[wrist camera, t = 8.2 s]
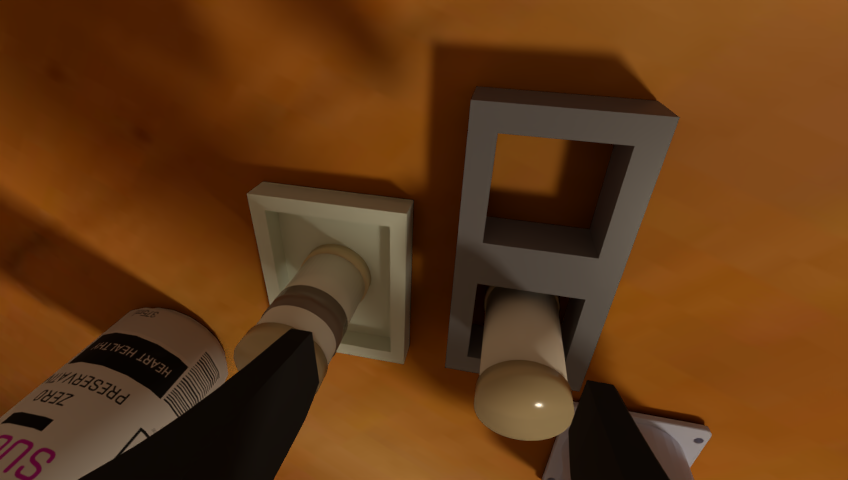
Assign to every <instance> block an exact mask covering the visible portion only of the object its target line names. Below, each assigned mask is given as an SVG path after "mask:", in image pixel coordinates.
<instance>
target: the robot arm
mask: <svg viewBox="0 0 848 480" xmlns="http://www.w3.org/2000/svg"><path fill="white" fill-rule="evenodd" d="M318 385H319V376H318V369H317V362H316V355H315V348H314V341H313V334H312V332H310V331H304V330H298V329H293V328H291V329H290V330H288V331H287V332H286V333H285V334H283V335H282V336H281V337H280V338H279V339H277V340H276V341H275V342H274V343H273V344H271V345H270V346H269V347H268V348H267V349H265V350H264V351H263V352H262V353H261V354H259V355H258V356H257V357H256V358H255V359H253V360H252V361H251V362H250V363H249V364H247V365H246V366H245V367H244V368H242V369H241V370H240V371H239V372H237V373H236V374H235V375H234V376H232V377H231V378H230V379H229V380H227V381H226V382H225V383H224V384H222V385H221V386H220V387H218V388H217V389H216V390H215V391H213V392H212V393H211V394H209V395H208V396H206V397H205V398H204V399H202V400H201V401H200V402H198V403H197V404H196V405H194V406H193V407H192V408H190V409H189V410H187V411H186V412H185V413H183V414H182V415H181V416H179V417H178V418H176V419H175V420H173V421H172V422H170V423H169V424H168V425H166V426H165V427H163V428H162V429H160V430H159V431H157V432H156V433H154V434H153V435H151V436H149V437H148V438H146V439H145V440H143V441H142V442H140V443H139V444H137V445H135V446H134V447H132V448H131V449H129V450H127V451H126V452H124V453H122V454H121V455H119V456H117V457H116V458H114V459H112V460H111V461H109V462H107V463H105V464H104V465H102V466H100V467H98V468H97V469H95V470H93V471H91V472H90V473H88V474H86V475H85V476H83V477H81V478H79V479H78V480H274V478H275V476H276V474H277V472H278V470H279V468H280V466H281V464H282V463H283V461H284V459H285V457H286V455H287V453H288V451H289V449H290V447H291V445H292V444H293V442H294V440H295V438H296V436H297V434H298V432H299V430H300V428H301V426H302V424H303V422H304V420H305V418H306V416H307V413H308V411H309V408H310V406H311V403H312V401H313V398H314V396H315V393H316V390H317V388H318ZM573 405H574V417H573V419H572V422H571V425H570V426H569V427H568V428H567V429H566V430H565V431H564V432H562V433H561V434H559V435H557V437H556V440H555V443H554V445H553V448H552V451H551V454H550V457H549V460H548V462H547V465H546V468H545V471H544V474H543V477H542V480H694V478H693V476H692V473H691V470H690V467H691V465H692V464H693V462H694V461H695V459H696V458H697V456H698V455H699V453H700V452H701V451H702V449H703V448H704V446H705V445H706V443H707V442H708V440H709V439H710V437H711V435H712V434H711V432H710V430H709V428H708V427H707V426H705V425H701V424H695V423H690V422H685V421H679V420H674V419H668V418H663V417H657V416H652V415H646V414H641V413H635V412H630V411H628V409H627V407H626V405H625V404H624V402H623V400H622V398H621V397H620V395H619V393H618V391H617V389H616V388H615V387H614V385H612V384H606V383H600V382H594V381H589V380H587V382H586V384H585V387H584V390H583V393H582V395H581V398H580V401H579V402H573Z"/></svg>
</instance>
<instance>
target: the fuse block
mask: <svg viewBox="0 0 848 480" xmlns="http://www.w3.org/2000/svg"><path fill="white" fill-rule="evenodd" d="M679 118H680V117H678V116H677V115H676V114H674V113H673V112H672V111H671V110H669V109H668V108H667V107H665V106H664V105H663V104H661V103H660V102H659V101H654V100H642V99H629V98H617V97H604V96H591V95H579V94H566V93H554V92H541V91H528V90H516V89H503V88H491V87H478V86H477V87H476V89H475V91H474V94H473V96H472V98H471V103H470V114H469V124H468V134H467V145H466V155H465V166H464V176H463V186H462V197H461V207H460V217H459V228H458V238H457V249H456V259H455V269H454V280H453V290H452V300H451V311H450V321H449V332H448V342H447V352H446V363H445V368H451V369H457V370H462V371H468V372H473V373H480V363H481V352H482V342H483V332H484V326H481V325H475V324H472V318H473V311H474V304H475V296H476V289H477V284H483V285H490V286H497V287H504V288H510V289H517V290H524V291H531V292H537V293H544V294H551V295H558V296H564V297H570V298H569V302H568V305H567V308H566V312H565V315H564V319H563V322H562V326H561V335H562V342H563V350H564V357H565V365H566V373H567V380H568V383H569V385H570V388H571V390H573V391H580V389H581V386H582V383H583V380H584V378H585V375H586V372H587V369H588V367H589V364H590V361H591V358H592V356H593V353H594V350H595V348H596V345H597V342H598V339H599V337H600V334H601V331H602V328H603V326H604V323H605V320H606V317H607V315H608V312H609V309H610V306H611V304H612V301H613V298H614V296H615V293H616V290H617V287H618V285H619V282H620V279H621V276H622V274H623V271H624V268H625V265H626V263H627V260H628V257H629V254H630V252H631V249H632V246H633V244H634V241H635V238H636V235H637V233H638V230H639V227H640V224H641V222H642V219H643V216H644V213H645V211H646V208H647V205H648V202H649V200H650V197H651V194H652V191H653V189H654V186H655V183H656V181H657V178H658V175H659V172H660V170H661V167H662V164H663V161H664V159H665V156H666V153H667V150H668V148H669V145H670V142H671V139H672V137H673V134H674V131H675V129H676V126H677V123H678V120H679ZM498 133H503V134H513V135H524V136H534V137H545V138H555V139H566V140H576V141H587V142H597V143H608V144H614V148H613V151H612V154H611V158H610V161H609V165H608V168H607V171H606V175H605V178H604V182H603V185H602V189H601V192H600V195H599V199H598V202H597V206H596V209H595V213H594V216H593V219H592V223H591V226H590V229H584V228H576V227H568V226H560V225H552V224H544V223H536V222H528V221H520V220H512V219H504V218H496V217H488V216H486V215H487V208H488V200H489V193H490V185H491V178H492V171H493V163H494V156H495V149H496V141H497V134H498Z"/></svg>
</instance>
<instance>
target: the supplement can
mask: <svg viewBox="0 0 848 480" xmlns="http://www.w3.org/2000/svg"><path fill="white" fill-rule="evenodd" d="M227 376H228V370H227V362H226V358H225V352H224V350H223V348H222V347H221V345H220V343H219V341H218V340H217V339H216V337H215V336H214V335H213V334H212V333H211V332H210V331H209V330H208V329H207V328H206V327H205V326H203V325H202V324H200V323H199V322H197V321H196V320H194V319H193V318H191V317H189V316H187V315H184V314H182V313H180V312H177V311H175V310H170V309H163V308H153V309H152V308H141V309H136V310H131V311H130V312H128V313H127V314H126V315H125V316H124V317H122V318H121V319H120V320H119V321H117V322H116V323H115V324H114V325H113V326H111V327H110V328H109V329H108V330H107V331H105V332H104V333H103V334H102V335H100V336H99V337H98V338H97V339H96V340H94V341H93V342H92V343H91V344H90V345H88V346H87V347H86V348H85V349H83V350H82V351H81V352H80V353H79V354H77V355H76V356H75V357H74V358H72V359H71V360H70V361H69V362H68V363H66V364H65V365H64V366H63V367H62V368H60V369H59V370H58V371H57V372H55V373H54V374H53V375H52V376H51V377H49V378H48V379H47V380H46V381H45V382H43V383H42V384H41V385H40V386H38V387H37V388H36V389H35V390H34V391H32V392H31V393H30V394H29V395H28V396H26V397H25V398H24V399H23V400H21V401H20V402H19V403H18V404H17V405H15V406H14V407H13V408H12V409H11V410H9V411H8V412H7V413H6V414H4V415H3V416H2V417H1V418H0V480H78V479H79V478H81V477H83V476H85V475H86V474H88V473H90V472H91V471H93V470H95V469H97V468H98V467H100V466H102V465H104V464H105V463H107V462H109V461H111V460H112V459H114V458H116V457H117V456H119V455H121V454H122V453H124V452H126V451H127V450H129V449H131V448H132V447H134V446H135V445H137V444H139V443H140V442H142V441H143V440H145V439H146V438H148V437H149V436H151V435H153V434H154V433H156V432H157V431H159V430H160V429H162V428H163V427H165V426H166V425H168V424H169V423H170V422H172V421H173V420H175V419H176V418H178V417H179V416H181V415H182V414H183V413H185V412H186V411H187V410H189V409H190V408H192V407H193V406H194V405H196V404H197V403H198V402H200V401H201V400H202V399H204V398H205V397H206V396H208V395H209V394H211V393H212V392H213V391H215V390H216V389H217V388H218V387H220V386H221V385H222V384H224V382H225V380H226V378H227Z"/></svg>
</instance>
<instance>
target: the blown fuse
mask: <svg viewBox="0 0 848 480" xmlns="http://www.w3.org/2000/svg"><path fill="white" fill-rule="evenodd" d="M370 284H371V273H370V270H369V267H368V265H367V264H366V262H365V261H364V259H363V258H362V257H361V256H360V255H359V254H357V253H356V252H355V251H353V250H351V249H350V248H347V247H345V246H342V245H338V244H324V245H320V246H318V247H316V248H315V249H313V250H312V251H311V253H310V254H309V255H308V256H307V258H306V259H305V260H304V261H303V263H302V265H301V268H300V270H299V271H298V272H297V273H296V275H295V276H294V277H293V279H292V280H291V281H290V282H289V284H288V285H287V286H286V287H285V289H284V290H282V291H281V292H280V293H279V295H278V296H277V297H276V298H275V300H274V301H273V302H272V304H271V305H270V306H269V307H268V309H267V310H266V311H265V312H264V314H263V315H262V317H261V319H260V321H259V322H258V323H257V324H256V325H255V326H253V327H252V328H251V329H250V330H249V331H248V332H247V333H246V335H245V336H244V337H243V338H242V340H241V341H240V342H239V343H238V345H237V346H236V348H235V350H234V361H235V364H236V367H237V369H238V370H239V371H240V370H241V369H242V368H244V367H245V366H246V365H247V364H249V363H250V362H251V361H252V360H253V359H255V358H256V357H257V356H258V355H259V354H261V353H262V352H263V351H264V350H265V349H267V348H268V347H269V346H270V345H271V344H273V343H274V342H275V341H276V340H277V339H279V338H280V337H281V336H282V335H283V334H285V333H286V332H287V331H288V330H290V329H291V328H293V329H298V330H304V331H310V332H312V334H313V341H314V348H315V355H316V362H317V369H318V376H319V385H318V388H317V390H316V392H317V391H318V389H319V387H320V385H321V383H322V381H323V379H324V377H325V375H326V373H327V369H328V364H329V362H330V360H331V358H332V357H333V356H334V355H335V353H336V351H337V349H338V347H339V345H340V343H341V341H342V339H343V337H344V335H345V333H346V331H347V327H348V325H349V323H350V321H351V319H352V317H353V315H354V313H355V311H356V309H357V307H358V305H359V303H360V302H361V301H362V300H363V299H364V297H365V295H366V293H367V291H368V289H369V287H370ZM315 394H316V393H315Z"/></svg>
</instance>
